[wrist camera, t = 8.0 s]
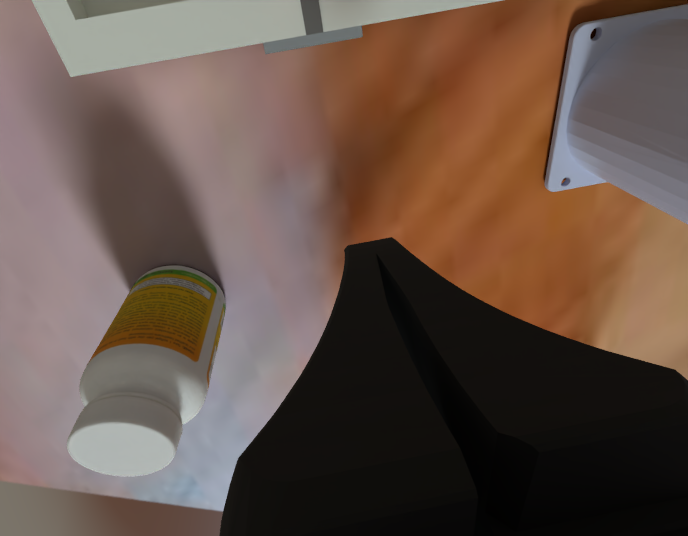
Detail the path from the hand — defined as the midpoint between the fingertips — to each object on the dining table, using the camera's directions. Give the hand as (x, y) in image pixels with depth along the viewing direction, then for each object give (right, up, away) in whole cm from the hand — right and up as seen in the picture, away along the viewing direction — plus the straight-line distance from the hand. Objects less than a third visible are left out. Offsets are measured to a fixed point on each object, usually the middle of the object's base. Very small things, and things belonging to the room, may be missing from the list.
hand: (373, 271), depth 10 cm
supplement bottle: (-11, -2, +13) cm, 17 cm away
